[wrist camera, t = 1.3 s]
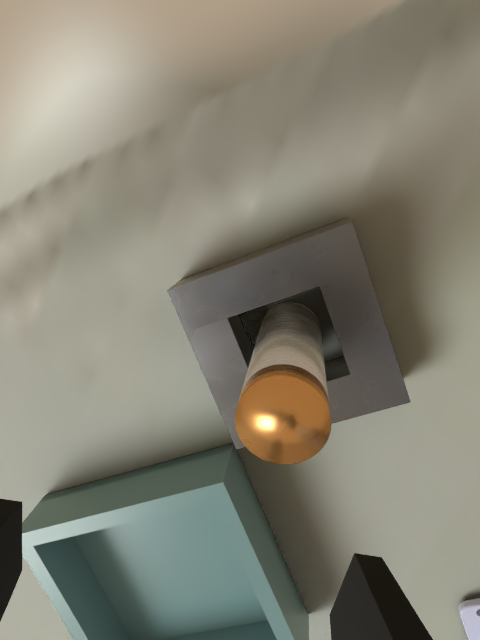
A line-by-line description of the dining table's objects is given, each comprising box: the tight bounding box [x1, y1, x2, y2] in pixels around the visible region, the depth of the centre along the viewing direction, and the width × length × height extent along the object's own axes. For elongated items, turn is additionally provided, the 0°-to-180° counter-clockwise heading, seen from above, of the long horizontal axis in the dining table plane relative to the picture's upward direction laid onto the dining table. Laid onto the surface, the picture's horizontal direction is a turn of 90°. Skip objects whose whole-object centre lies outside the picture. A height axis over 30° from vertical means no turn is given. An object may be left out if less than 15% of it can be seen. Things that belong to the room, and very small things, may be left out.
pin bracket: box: [167, 218, 410, 449], centre depth 19 cm, size 8×8×2 cm
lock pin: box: [235, 302, 331, 464], centre depth 16 cm, size 3×3×8 cm
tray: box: [22, 443, 309, 640], centre depth 23 cm, size 11×11×3 cm
